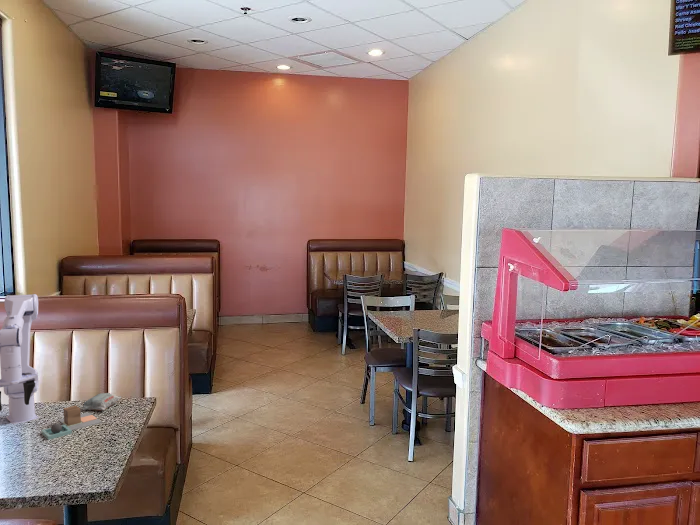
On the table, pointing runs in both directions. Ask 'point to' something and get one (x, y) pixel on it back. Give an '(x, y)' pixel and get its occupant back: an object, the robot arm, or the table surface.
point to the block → (72, 415)
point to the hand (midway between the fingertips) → (13, 406)
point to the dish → (63, 432)
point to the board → (83, 421)
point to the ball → (56, 428)
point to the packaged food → (100, 402)
